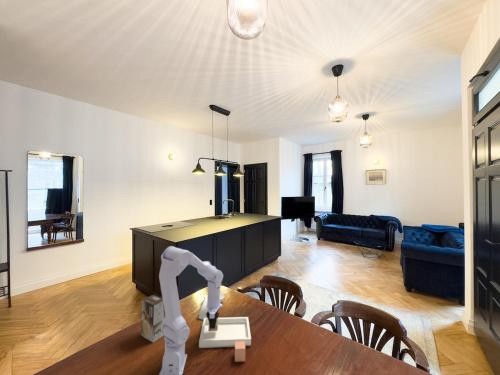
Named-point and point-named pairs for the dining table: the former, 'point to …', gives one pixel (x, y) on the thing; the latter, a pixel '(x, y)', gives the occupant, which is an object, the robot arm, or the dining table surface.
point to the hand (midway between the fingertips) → (212, 324)
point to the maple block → (215, 327)
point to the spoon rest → (204, 306)
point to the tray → (225, 333)
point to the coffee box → (152, 317)
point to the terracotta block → (239, 351)
